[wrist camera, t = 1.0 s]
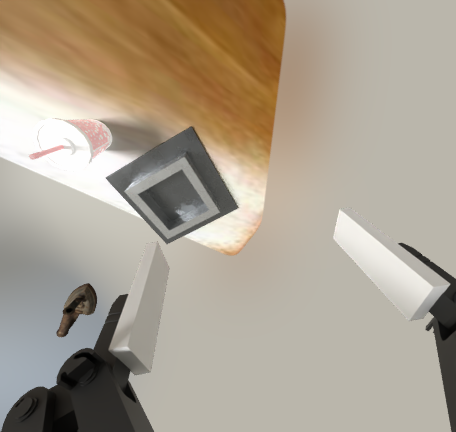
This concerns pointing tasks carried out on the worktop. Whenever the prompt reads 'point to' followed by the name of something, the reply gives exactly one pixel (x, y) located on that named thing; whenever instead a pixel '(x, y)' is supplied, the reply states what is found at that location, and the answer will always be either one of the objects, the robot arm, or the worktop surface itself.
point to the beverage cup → (70, 142)
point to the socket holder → (174, 187)
